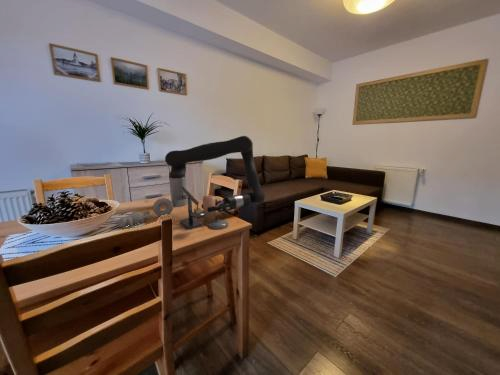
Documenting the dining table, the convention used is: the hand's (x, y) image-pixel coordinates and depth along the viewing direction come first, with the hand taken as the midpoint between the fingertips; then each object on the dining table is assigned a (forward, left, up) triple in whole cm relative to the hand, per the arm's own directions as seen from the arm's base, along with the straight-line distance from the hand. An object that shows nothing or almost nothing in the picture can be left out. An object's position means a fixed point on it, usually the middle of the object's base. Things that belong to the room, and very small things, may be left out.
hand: (204, 208), depth 102 cm
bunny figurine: (-18, -28, -7) cm, 34 cm away
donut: (-19, -15, -7) cm, 25 cm away
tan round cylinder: (0, +2, -7) cm, 7 cm away
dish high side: (-9, +2, -7) cm, 11 cm away
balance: (0, -8, -7) cm, 10 cm away
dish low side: (+9, +2, -7) cm, 11 cm away
